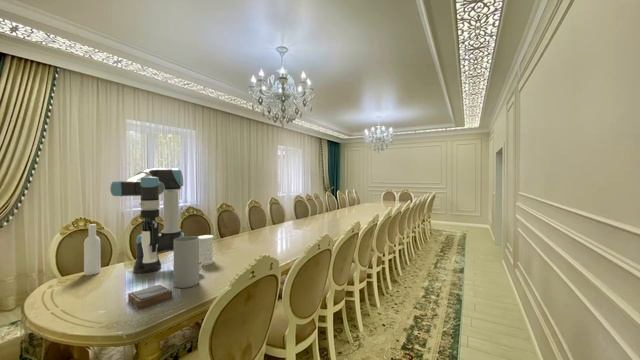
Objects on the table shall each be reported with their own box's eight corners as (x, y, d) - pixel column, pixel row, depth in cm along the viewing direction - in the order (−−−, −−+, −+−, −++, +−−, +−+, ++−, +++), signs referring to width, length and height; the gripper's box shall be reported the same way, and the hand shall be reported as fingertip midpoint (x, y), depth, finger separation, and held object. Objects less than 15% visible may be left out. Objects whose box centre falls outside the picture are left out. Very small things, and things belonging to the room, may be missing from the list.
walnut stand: (128, 301, 128) (128, 292, 128) (160, 291, 139) (160, 283, 139) (139, 309, 119) (139, 300, 119) (172, 298, 130) (172, 290, 130)
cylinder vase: (181, 279, 155) (181, 236, 155) (203, 279, 155) (202, 236, 155) (168, 288, 143) (168, 241, 142) (192, 288, 142) (191, 241, 142)
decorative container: (199, 260, 191) (199, 235, 191) (216, 259, 193) (216, 234, 193) (193, 265, 180) (193, 238, 180) (211, 265, 181) (211, 238, 181)
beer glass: (146, 259, 132) (146, 228, 132) (161, 259, 133) (161, 228, 133) (138, 263, 125) (138, 231, 125) (154, 263, 126) (153, 231, 126)
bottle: (104, 271, 169) (103, 223, 169) (91, 275, 161) (91, 225, 161) (93, 270, 170) (93, 223, 170) (80, 275, 163) (80, 225, 163)
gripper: (133, 208, 132) (134, 255, 132) (149, 211, 120) (149, 263, 120) (150, 207, 138) (151, 252, 138) (167, 209, 126) (167, 259, 126)
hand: (150, 257), depth 129 cm, fingers closed on beer glass, 6 cm apart
